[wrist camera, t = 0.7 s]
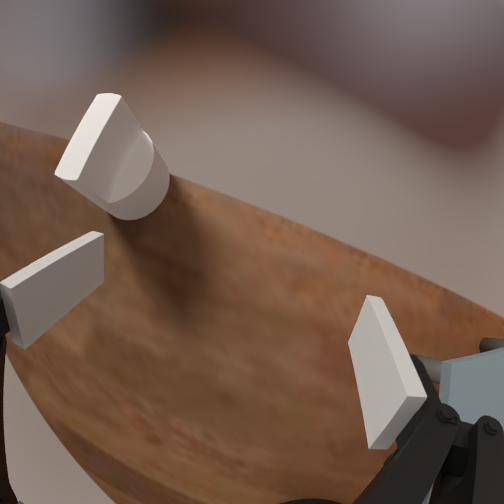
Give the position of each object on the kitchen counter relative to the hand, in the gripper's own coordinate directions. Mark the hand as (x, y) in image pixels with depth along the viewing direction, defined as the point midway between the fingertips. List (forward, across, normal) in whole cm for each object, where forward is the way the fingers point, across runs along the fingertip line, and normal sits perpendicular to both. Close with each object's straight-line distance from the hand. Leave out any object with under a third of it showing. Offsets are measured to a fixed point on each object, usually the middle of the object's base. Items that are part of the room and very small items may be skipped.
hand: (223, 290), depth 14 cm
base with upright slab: (+20, +16, 0) cm, 26 cm away
